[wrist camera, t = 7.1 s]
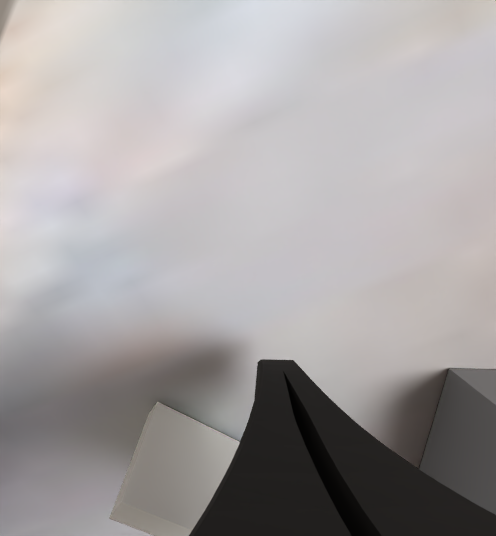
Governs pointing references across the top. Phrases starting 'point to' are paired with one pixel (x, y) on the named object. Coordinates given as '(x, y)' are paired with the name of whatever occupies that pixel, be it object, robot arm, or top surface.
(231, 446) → the door
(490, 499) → the block
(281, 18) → the top surface
